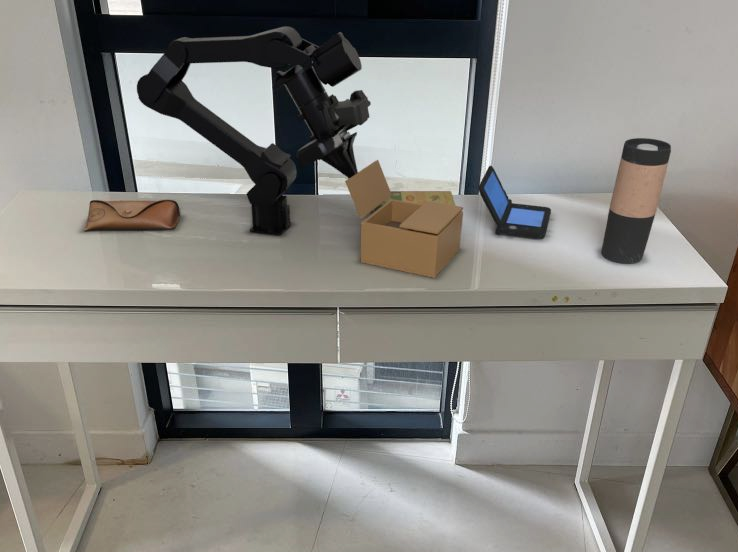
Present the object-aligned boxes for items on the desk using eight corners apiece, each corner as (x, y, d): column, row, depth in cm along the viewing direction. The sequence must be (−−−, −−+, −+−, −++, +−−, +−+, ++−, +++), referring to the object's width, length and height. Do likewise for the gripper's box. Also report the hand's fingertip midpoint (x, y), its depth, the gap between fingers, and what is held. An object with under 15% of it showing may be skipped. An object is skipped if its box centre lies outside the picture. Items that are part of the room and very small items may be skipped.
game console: (544, 242, 136) (552, 195, 131) (472, 233, 139) (477, 187, 134) (551, 213, 148) (559, 169, 143) (484, 206, 151) (489, 163, 146)
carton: (454, 225, 143) (456, 204, 140) (373, 224, 143) (374, 204, 140) (450, 209, 149) (451, 189, 147) (372, 209, 150) (373, 189, 147)
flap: (362, 218, 124) (360, 218, 124) (392, 195, 133) (390, 195, 133) (346, 180, 121) (344, 181, 121) (378, 159, 131) (376, 160, 131)
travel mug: (590, 251, 132) (614, 140, 121) (623, 244, 135) (649, 135, 123) (619, 267, 126) (646, 153, 115) (653, 260, 129) (683, 147, 118)
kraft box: (360, 262, 128) (361, 217, 124) (389, 236, 138) (391, 194, 133) (434, 278, 123) (438, 232, 118) (459, 250, 133) (463, 206, 128)
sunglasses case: (81, 230, 139) (79, 195, 138) (91, 236, 146) (90, 202, 145) (175, 229, 140) (173, 194, 139) (181, 234, 147) (180, 201, 146)
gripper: (324, 95, 114) (371, 182, 120) (368, 63, 127) (409, 143, 133) (274, 125, 121) (321, 206, 127) (321, 92, 134) (362, 167, 140)
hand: (356, 179), depth 131 cm, fingers closed
